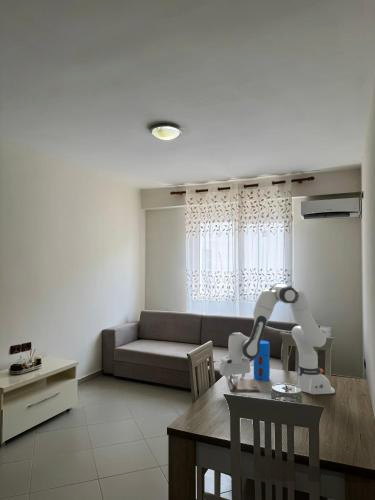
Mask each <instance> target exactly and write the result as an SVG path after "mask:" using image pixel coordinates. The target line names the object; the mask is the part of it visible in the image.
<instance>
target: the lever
mask: <svg viewBox="0 0 375 500" xmlns="http://www.w3.org/2000/svg"><path fill="white" fill-rule="evenodd" d="M229 379H230V380H231V381H232V384H233V387H237V386H238V379H239V377H238V375H237V374H235V375H229Z"/></svg>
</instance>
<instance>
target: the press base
mask: <svg viewBox="0 0 375 500" xmlns="http://www.w3.org/2000/svg"><path fill="white" fill-rule="evenodd" d="M227 384H228V388H229V390H230V392H234V393H237V392H238V393H241V392H242V393H243V392H244V393H260V392H261V390H260V387H259V386H258V383H257V380H255V379H251V378H250V379H249V378H247V379H246V378H243V381H241V380H240V378H238V386H237V387H233V384H232V381H231V380H230V382H227Z"/></svg>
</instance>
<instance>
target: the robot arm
mask: <svg viewBox="0 0 375 500" xmlns="http://www.w3.org/2000/svg"><path fill="white" fill-rule="evenodd" d="M278 302H281V303H284V304H289V305H290V308H291V312H292V315H293V319H294V322H295V323H296V324H297V325H295V326H294V327H293V328H292V329H291V333H290V334H291V337H292V338H293V340H294V342H295V345H296V347H297V351H298V358H299V359H298V360H299V361H298V368H297V369H298V380H297V386H298V387H300V388H301V389H302V391H301V392H304V393H308V394H310V395H326V394H327V395H328V394H335V393H336V391H335V389H334V387H332V386H331V385H332V384H331V383H330V380H329V379H328V378H327V376H325V375H323V374H322V373H324V369H323V368H320V367H319V366H318V365H319V364H318V361H319V360H318V359H319V357H318V353H317V352H316V351H315V347H316V348H317V347H318V348H321V347H323V346H324V345H326V342H327V335H326V333H325V332H324V331H323V330H322V329H321V328H320V327H319V326H318V324H317V322H316V321H315V319H314V317H313V315H312V310H311V308H310V304H309V301H308V298H307V296H306V294H305V293H304V291H302V290H300V289H297V290H296V289H295V288H294V287H292V286H290V285H288V284H285V283H284V284H283V283H280V282H279V283H275V284H273V285H272V286H271V287H270V288H269V289H264V290H263V291H262V292H261V293H260V295H259V297H258V299H257V301H256V303H255V305H254V309H253V321H254V322H253V328H252V330H251V331H252V332H251V334H250V336H246V335H244V334H243V333H242V332H240V331H239V332H238V331H237V332H236V331H235V332H232V333H230V334H229V335H228V341H227V342H228V346H227V347H228V354H227V355H226V356H224V357H223V356H222V357H221V358H220V361H221V362H220V365H219V375H221V376H223V377H225V379H226V382H227V383H228V382H230V375H241V376H239V379H240V380H241V381H243V379H245V376H246V374H249V373H250V372H251V364H250V363H251V360H254V358H256V357H257V356H258V355H259V353H260V341H262V337H263V333H264V331H265V329H266V327H267V324H268V322H269V320H270V319H271V316H272V314H273V311H274V308H275V307H276V305H277V303H278ZM243 356H244V357H243ZM297 386H296V387H297Z"/></svg>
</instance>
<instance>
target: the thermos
mask: <svg viewBox="0 0 375 500" xmlns="http://www.w3.org/2000/svg"><path fill="white" fill-rule="evenodd" d="M270 352H271V351H270V342H269V341H267V340H261V341H260V353H259V355H258V356H257V357H256V358H254V359H253V378H254V379H255V381H257V382H268V381H270V373H271V372H270V370H271V369H270V364H271V363H270V360H271V359H270V354H271V353H270ZM267 380H268V381H267Z"/></svg>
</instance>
